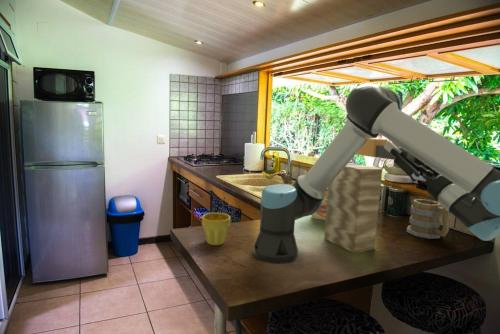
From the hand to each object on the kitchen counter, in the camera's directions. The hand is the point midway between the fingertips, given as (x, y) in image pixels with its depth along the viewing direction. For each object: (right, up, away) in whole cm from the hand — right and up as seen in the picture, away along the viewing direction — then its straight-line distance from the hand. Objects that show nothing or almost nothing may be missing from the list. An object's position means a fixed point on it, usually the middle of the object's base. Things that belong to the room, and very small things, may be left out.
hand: (391, 144), depth 109 cm
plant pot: (-59, -35, +13) cm, 70 cm away
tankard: (+29, -37, +30) cm, 56 cm away
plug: (-1, -4, +3) cm, 5 cm away
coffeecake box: (-9, -32, +50) cm, 60 cm away
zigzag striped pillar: (-9, -37, +18) cm, 42 cm away
